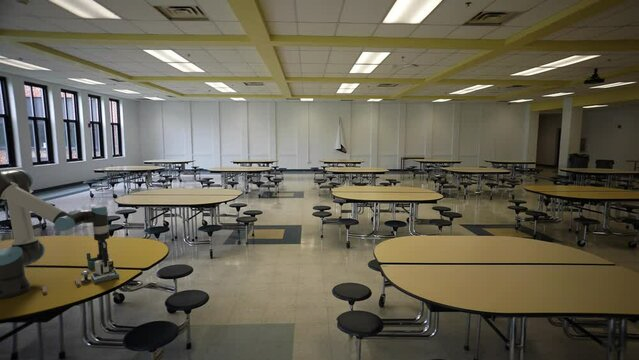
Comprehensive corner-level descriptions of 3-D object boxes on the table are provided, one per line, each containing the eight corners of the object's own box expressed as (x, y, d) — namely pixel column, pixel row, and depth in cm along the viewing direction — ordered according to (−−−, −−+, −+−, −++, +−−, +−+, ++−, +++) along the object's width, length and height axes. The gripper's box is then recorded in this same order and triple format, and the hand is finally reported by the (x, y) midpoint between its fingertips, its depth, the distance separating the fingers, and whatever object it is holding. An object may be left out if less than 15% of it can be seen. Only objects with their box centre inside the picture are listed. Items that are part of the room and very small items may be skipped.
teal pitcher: (104, 267, 216) (103, 254, 215) (86, 270, 211) (85, 256, 210) (104, 263, 223) (103, 250, 222) (87, 265, 219) (86, 252, 218)
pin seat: (43, 294, 178) (43, 292, 178) (42, 288, 186) (42, 285, 186) (80, 285, 189) (80, 283, 189) (78, 280, 196) (78, 277, 196)
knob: (82, 282, 193) (81, 273, 193) (80, 280, 197) (80, 271, 196) (91, 280, 196) (90, 271, 196) (90, 278, 200) (89, 269, 199)
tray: (94, 283, 192) (94, 279, 191) (91, 277, 201) (91, 273, 200) (119, 278, 200) (118, 274, 199) (114, 271, 209) (114, 268, 208)
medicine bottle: (101, 275, 195) (99, 255, 193) (95, 273, 199) (93, 253, 197) (114, 271, 201) (112, 252, 199) (108, 269, 205) (106, 250, 203)
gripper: (112, 234, 191) (115, 273, 194) (105, 227, 207) (108, 263, 210) (96, 237, 186) (100, 276, 189) (90, 229, 202) (94, 266, 205)
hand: (104, 269), depth 199 cm, fingers closed on medicine bottle, 8 cm apart
